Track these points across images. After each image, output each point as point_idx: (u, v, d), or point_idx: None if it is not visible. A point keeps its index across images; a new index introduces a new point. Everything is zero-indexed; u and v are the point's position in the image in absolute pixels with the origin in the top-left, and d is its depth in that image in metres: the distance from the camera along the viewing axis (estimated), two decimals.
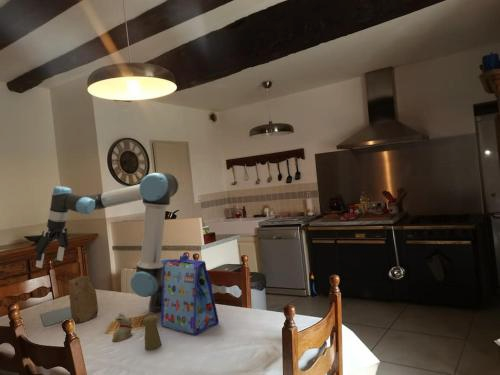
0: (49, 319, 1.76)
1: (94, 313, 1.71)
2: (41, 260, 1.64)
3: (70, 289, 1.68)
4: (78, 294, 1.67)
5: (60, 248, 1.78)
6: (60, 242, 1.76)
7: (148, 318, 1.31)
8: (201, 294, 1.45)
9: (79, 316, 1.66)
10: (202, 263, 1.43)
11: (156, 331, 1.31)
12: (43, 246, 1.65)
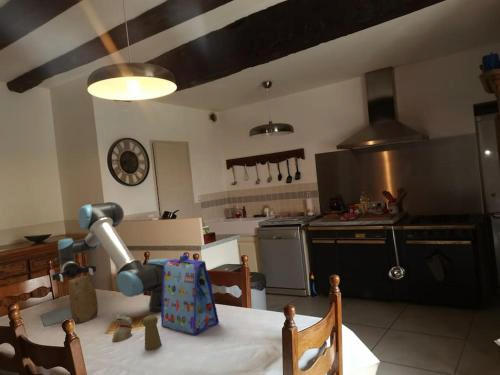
0: (49, 319, 1.76)
1: (94, 313, 1.71)
2: (60, 275, 1.78)
3: (70, 289, 1.68)
4: (78, 294, 1.67)
5: (89, 271, 1.88)
6: (85, 270, 1.90)
7: (148, 318, 1.31)
8: (201, 294, 1.45)
9: (79, 316, 1.66)
10: (202, 263, 1.43)
11: (156, 331, 1.31)
12: (60, 275, 1.84)
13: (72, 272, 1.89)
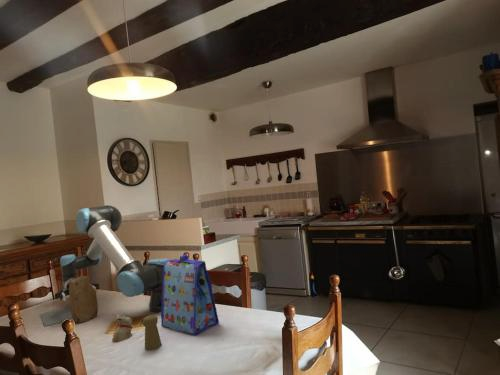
0: (49, 319, 1.76)
1: (94, 313, 1.71)
2: (62, 294, 1.75)
3: (70, 289, 1.68)
4: (78, 294, 1.67)
5: None
6: None
7: (148, 318, 1.31)
8: (201, 294, 1.45)
9: (79, 316, 1.66)
10: (202, 263, 1.43)
11: (156, 331, 1.31)
12: (62, 293, 1.81)
13: None
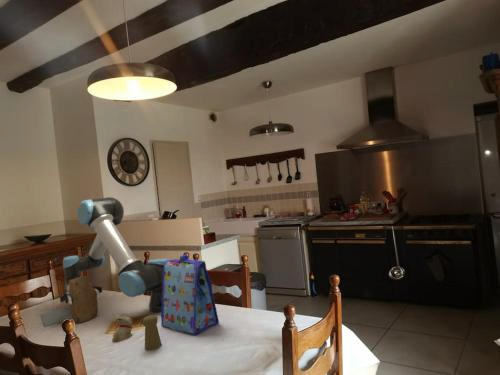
0: (49, 319, 1.76)
1: (94, 313, 1.71)
2: (68, 297, 1.67)
3: (70, 289, 1.68)
4: (78, 294, 1.67)
5: None
6: None
7: (148, 318, 1.31)
8: (201, 294, 1.45)
9: (79, 316, 1.66)
10: (202, 263, 1.43)
11: (156, 331, 1.31)
12: None
13: None
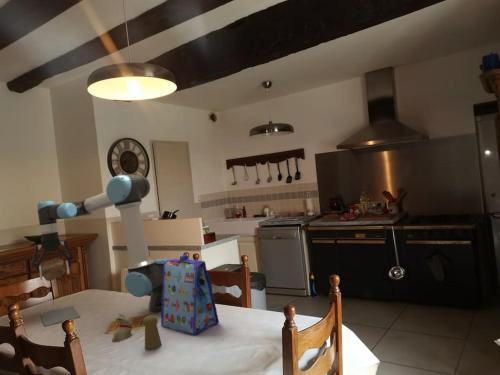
0: (49, 319, 1.76)
1: None
2: (39, 272, 1.77)
3: (43, 274, 1.75)
4: None
5: None
6: None
7: (148, 318, 1.31)
8: (201, 294, 1.45)
9: None
10: (202, 263, 1.43)
11: (156, 331, 1.31)
12: (39, 259, 1.78)
13: (50, 251, 1.81)
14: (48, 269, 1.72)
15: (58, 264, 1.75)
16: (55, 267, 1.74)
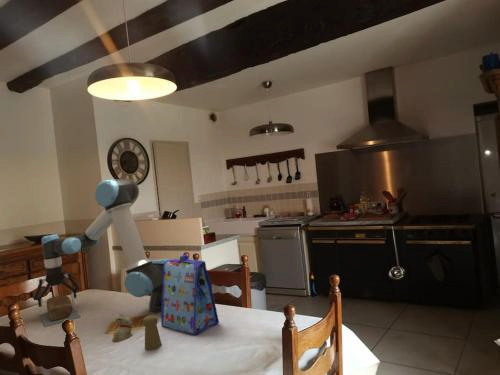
0: (49, 319, 1.76)
1: None
2: (41, 306, 1.76)
3: (49, 313, 1.75)
4: None
5: (71, 293, 1.85)
6: (68, 287, 1.84)
7: (148, 318, 1.31)
8: (201, 294, 1.45)
9: None
10: (202, 263, 1.43)
11: (156, 331, 1.31)
12: (41, 293, 1.77)
13: None
14: (55, 309, 1.73)
15: (66, 305, 1.76)
16: (62, 308, 1.75)
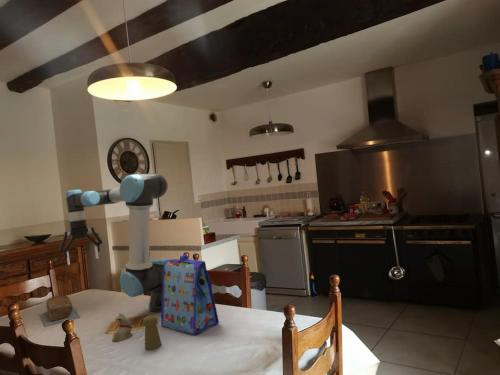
0: (49, 319, 1.76)
1: None
2: (67, 258, 1.81)
3: (49, 313, 1.75)
4: None
5: None
6: (91, 241, 1.90)
7: (148, 318, 1.31)
8: (201, 294, 1.45)
9: None
10: (202, 263, 1.43)
11: (156, 331, 1.31)
12: (67, 245, 1.82)
13: (78, 238, 1.86)
14: (55, 309, 1.73)
15: (66, 305, 1.76)
16: (62, 308, 1.74)
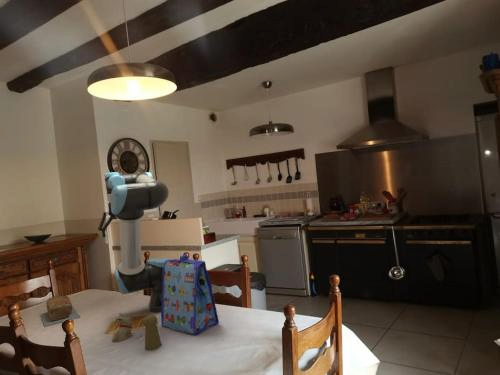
0: (49, 319, 1.76)
1: None
2: (105, 237, 1.91)
3: (49, 313, 1.75)
4: None
5: None
6: None
7: (148, 318, 1.31)
8: (201, 294, 1.45)
9: None
10: (202, 263, 1.43)
11: (156, 331, 1.31)
12: (105, 225, 1.92)
13: (116, 218, 1.95)
14: (55, 309, 1.73)
15: (66, 305, 1.76)
16: (62, 308, 1.74)
